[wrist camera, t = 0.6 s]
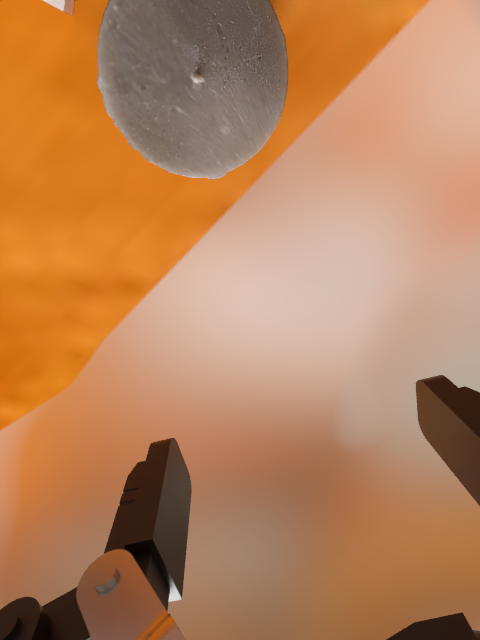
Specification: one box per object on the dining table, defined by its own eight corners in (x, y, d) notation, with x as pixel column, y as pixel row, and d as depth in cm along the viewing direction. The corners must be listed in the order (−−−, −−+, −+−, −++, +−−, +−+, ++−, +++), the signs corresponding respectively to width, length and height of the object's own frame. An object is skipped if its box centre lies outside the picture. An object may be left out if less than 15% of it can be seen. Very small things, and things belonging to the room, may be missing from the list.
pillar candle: (226, -29, 26) (268, -112, 14) (262, 117, 32) (314, 149, 19) (103, 23, 27) (39, -13, 14) (160, 157, 32) (148, 211, 20)
